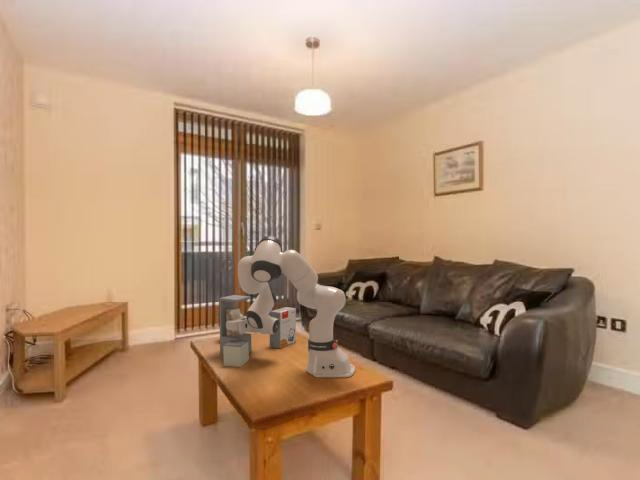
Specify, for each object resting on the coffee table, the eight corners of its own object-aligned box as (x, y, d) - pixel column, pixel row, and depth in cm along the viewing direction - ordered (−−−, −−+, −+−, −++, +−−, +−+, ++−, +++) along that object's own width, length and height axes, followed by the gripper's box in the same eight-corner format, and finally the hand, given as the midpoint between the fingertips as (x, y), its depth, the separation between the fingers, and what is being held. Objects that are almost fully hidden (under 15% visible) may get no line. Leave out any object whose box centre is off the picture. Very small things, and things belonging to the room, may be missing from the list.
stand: (248, 360, 180) (248, 340, 180) (241, 366, 171) (240, 346, 171) (232, 359, 182) (231, 339, 182) (223, 365, 173) (223, 345, 173)
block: (240, 334, 194) (239, 308, 193) (233, 336, 189) (233, 309, 189) (233, 333, 196) (232, 307, 196) (226, 335, 192) (226, 309, 192)
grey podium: (251, 351, 194) (250, 296, 194) (237, 357, 184) (236, 299, 184) (234, 348, 200) (233, 294, 199) (220, 354, 190) (219, 298, 190)
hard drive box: (280, 349, 198) (279, 312, 197) (269, 346, 202) (268, 311, 201) (296, 341, 211) (296, 307, 210) (285, 339, 215) (285, 306, 214)
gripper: (264, 313, 195) (245, 310, 202) (238, 321, 177) (218, 318, 184) (264, 324, 195) (245, 321, 202) (238, 333, 178) (218, 330, 184)
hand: (232, 320), depth 193 cm, fingers closed on block, 5 cm apart
